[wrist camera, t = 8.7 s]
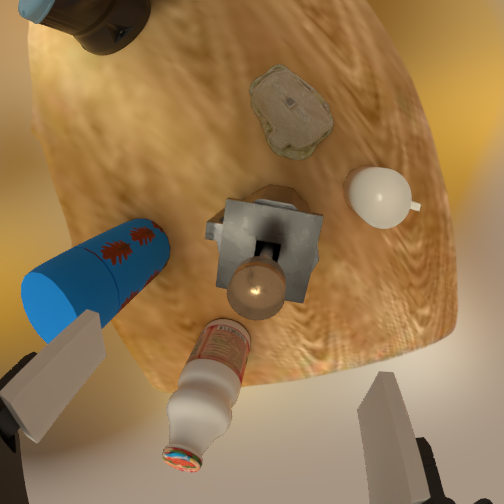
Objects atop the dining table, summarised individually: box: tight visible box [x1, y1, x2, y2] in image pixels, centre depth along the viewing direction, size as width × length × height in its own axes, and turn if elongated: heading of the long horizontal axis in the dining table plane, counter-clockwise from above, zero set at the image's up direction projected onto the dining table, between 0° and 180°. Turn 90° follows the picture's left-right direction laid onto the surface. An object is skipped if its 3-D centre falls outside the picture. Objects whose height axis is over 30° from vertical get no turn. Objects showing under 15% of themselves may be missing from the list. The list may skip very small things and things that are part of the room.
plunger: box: [227, 240, 286, 320], centre depth 28 cm, size 8×8×18 cm
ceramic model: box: [249, 64, 334, 160], centre depth 34 cm, size 14×11×10 cm
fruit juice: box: [162, 319, 250, 472], centre depth 39 cm, size 9×9×28 cm
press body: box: [205, 184, 323, 303], centre depth 36 cm, size 10×13×17 cm
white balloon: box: [343, 166, 421, 229], centre depth 36 cm, size 8×10×9 cm
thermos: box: [21, 219, 170, 344], centre depth 37 cm, size 11×11×25 cm
